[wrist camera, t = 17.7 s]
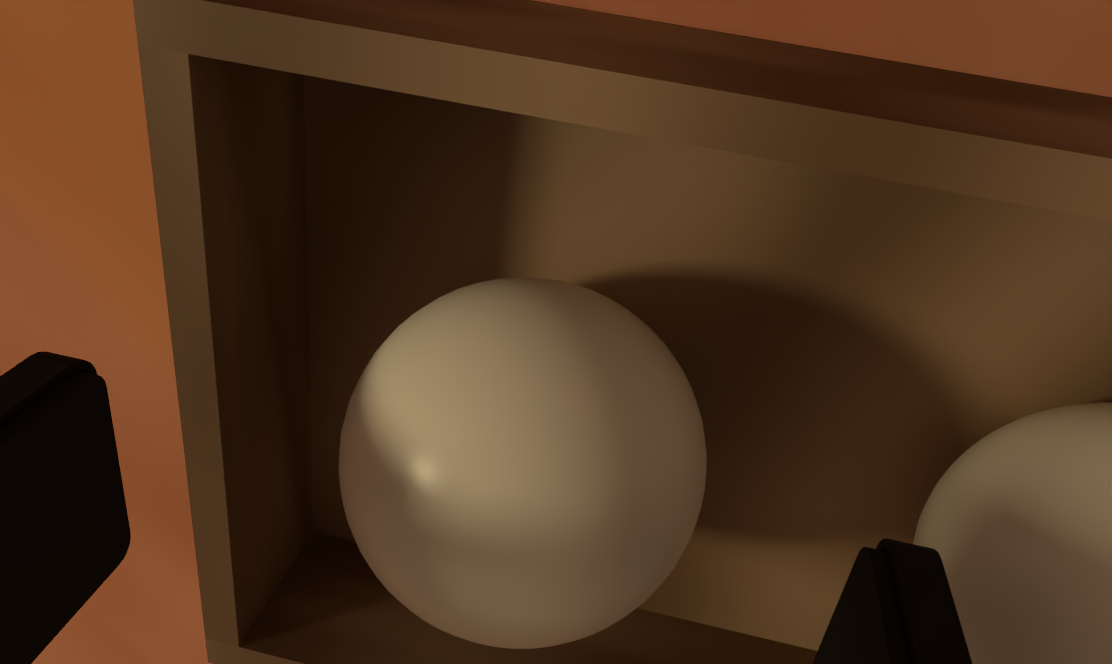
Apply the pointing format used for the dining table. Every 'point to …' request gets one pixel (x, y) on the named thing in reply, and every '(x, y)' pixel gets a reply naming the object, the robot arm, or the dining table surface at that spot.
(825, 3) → the dining table surface
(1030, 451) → the cream ball
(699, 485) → the cream ball
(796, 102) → the tray
